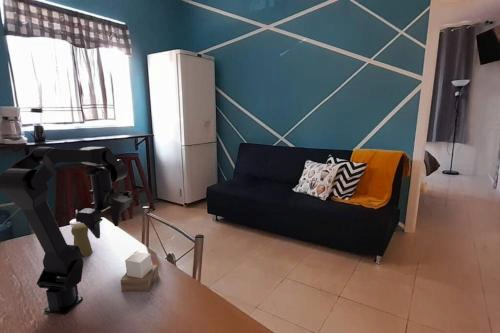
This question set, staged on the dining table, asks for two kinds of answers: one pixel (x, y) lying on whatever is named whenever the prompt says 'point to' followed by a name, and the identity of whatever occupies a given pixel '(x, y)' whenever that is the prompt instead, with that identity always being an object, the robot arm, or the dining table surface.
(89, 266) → the dining table surface
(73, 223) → the smoothie
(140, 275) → the white cube
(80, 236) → the olive drink cup
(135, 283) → the tan flat block
